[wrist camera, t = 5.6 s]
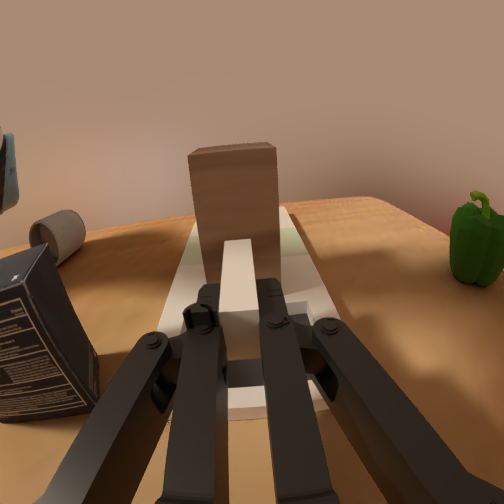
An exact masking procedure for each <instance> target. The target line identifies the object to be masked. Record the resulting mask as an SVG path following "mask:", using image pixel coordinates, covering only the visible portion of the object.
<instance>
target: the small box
mask: <svg viewBox="0 0 504 504" xmlns="http://www.w3.org/2000/svg"><path fill="white" fill-rule="evenodd" d="M98 368H99V366H98V355H97V353H96V352H95V350H94V348H93V346H92V344H91V343H90V341H89V339H88V337H87V335H86V333H85V331H84V329H83V327H82V325H81V323H80V321H79V319H78V317H77V315H76V313H75V311H74V309H73V306H72V304H71V302H70V300H69V298H68V295H67V293H66V290H65V288H64V286H63V283H62V281H61V278H60V275H59V273H58V270H57V268H56V265H55V262H54V260H53V257H52V254H51V251H50V247H49V244H48V243H45V244H42V245H39V246H36V247H33V248H30V249H27V250H24V251H21V252H19V253H16V254H13V255H10V256H8V257H5V258H2V259H0V422H19V421H30V420H40V419H48V418H56V417H63V416H69V415H76V414H81V413H87V412H92V410H93V409H94V407H95V406H96V404H97V402H98V401H99V399H100V398H99V388H98Z"/></svg>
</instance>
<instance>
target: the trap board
mask: <svg viewBox="0 0 504 504" xmlns="http://www.w3.org/2000/svg"><path fill="white" fill-rule="evenodd" d="M279 220H280V249H281V287H282V291H283V295H284V298H285V302H286V306H287V310H288V314H289V316H290V317H291V319H292V320H293V321H295V322H296V323H299V324H303V325H310V326H313V324H314V323H315V322H316V321H317V320H319V319H321V318H325V317H333V318H337V319H339V320H341V319H340V316H339V314H338V312H337V310H336V308H335V306H334V304H333V302H332V300H331V297H330V295H329V293H328V291H327V289H326V287H325V285H324V283H323V281H322V279H321V277H320V275H319V273H318V271H317V269H316V267H315V265H314V263H313V261H312V259H311V257H310V255H309V253H308V251H307V249H306V247H305V245H304V243H303V241H302V239H301V237H300V236H299V234H298V232H297V230H296V228H295V226H294V224H293V222H292V220H291V218H290V217H289V215H288V213H287V211H286V209H285V207H284V206H283V207H279ZM204 284H207V283H206V277H205V271H204V266H203V260H202V254H201V248H200V242H199V235H198V229H197V222H196V221H195V224H194V226H193V229H192V232H191V234H190V237H189V239H188V242H187V245H186V247H185V250H184V253H183V255H182V258H181V261H180V264H179V266H178V269H177V272H176V275H175V277H174V280H173V283H172V286H171V289H170V292H169V295H168V298H167V301H166V304H165V307H164V310H163V313H162V316H161V319H160V322H159V325H158V328H157V331H156V332H162V333H165V334H166V335H167V336H168V338H170V337H174V336H178V335H180V334H183V333H184V332H186V330H187V328H186V325H185V321H184V318H183V314H182V313H183V311H184V309H185V308H186V307H188V306H189V305H191V304H193V303H196V302H197V298H198V291H199V289H200V288H201V287H202V286H203V285H204ZM227 367H228V421H232V420H250V419H263V418H267V409H266V399H265V389H264V379H263V370H262V358H255V359H243V360H228V359H227ZM306 376H307V380H308V384H309V389H310V393H311V397H312V401H313V405H314V410H315V412H317V411H323V410H328V409H329V407H328V406H327V404H326V402H325V401H324V399H323V397H322V396H321V394H320V392H319V391H318V389H317V388H316V386H315V384H314V383H313V381H312V379H311V378H310V376H309V374H307V373H306ZM172 412H173V410H172ZM172 412H171V414H170V417H169V419H168V420H171V419H172Z"/></svg>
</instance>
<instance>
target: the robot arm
mask: <svg viewBox="0 0 504 504" xmlns="http://www.w3.org/2000/svg"><path fill="white" fill-rule="evenodd" d="M18 200H19V189H18V180H17V172H16V160H15V145H14V135H13V134H12V133H5V134H4V135H3V133H2V129H1V127H0V215H1V214H3V212H4V211H6V210H8V209H10V208H12V207H14V206H15V205H16V204H17V203H18ZM182 314H183V318H184V321H185V325H186V328H187V330H186V332H184V333H183V334H180V335H178V336H174V337H170V338H168V336H167V335H166V334H165V333H162V332H155V331H153V332H150V333H147V334H145V335H143V336H142V337H141V338H140V339H139V340H138V341H137V343H136V344H135V346H134V347H133V349H132V350H131V352H130V353H129V355H128V356H127V358H126V359H125V361H124V362H123V364H122V365H121V367H120V368H119V370H118V371H117V373H116V374H115V376H114V377H113V379H112V381H111V382H110V384H109V385H108V387H107V388H106V390H105V391H104V393H103V395H102V396H101V398H100V399H99V401H98V402H97V404H96V406H95V407H94V409H93V410H92V412H91V414H90V415H89V417H88V418H87V420H86V422H85V423H84V425H83V427H82V428H81V430H80V432H79V433H78V435H77V437H76V438H75V440H74V442H73V443H72V445H71V447H70V448H69V450H68V452H67V454H66V455H65V457H64V459H63V461H62V462H61V464H60V466H59V468H58V469H57V471H56V473H55V475H54V477H53V478H52V480H51V482H50V484H49V486H48V488H47V489H46V491H45V493H44V495H43V496H41V497H40V498H39V499H38V500H36V501H35V502H34V503H33V504H131V502H132V500H133V498H134V495H135V493H136V491H137V489H138V486H139V484H140V482H141V480H142V477H143V475H144V473H145V470H146V468H147V466H148V464H149V461H150V459H151V457H152V455H153V452H154V450H155V448H156V446H157V443H158V441H159V439H160V437H161V434H162V432H163V430H164V428H165V426H166V423H167V421H168V419H169V417H170V414H171V412H172V410H173V412H172V419H171V426H170V433H169V441H168V449H167V457H166V465H165V474H164V484H163V492H162V495H161V497H160V498H159V499H158V500H157V501H156V502H155V504H229V471H228V367H227V359H228V360H243V359H255V358H262V370H263V379H264V389H265V399H266V409H267V419H268V429H269V439H270V448H271V458H272V468H273V478H274V488H275V497H276V504H340V502H339V498H338V496H337V494H336V493H335V491H334V490H333V489H332V486H331V482H330V477H329V472H328V468H327V463H326V459H325V454H324V449H323V445H322V440H321V436H320V432H319V427H318V423H317V418H316V414H315V410H314V405H313V401H312V397H311V393H310V389H309V384H308V380H307V376H306V373H307V374H309V376H310V378H311V379H312V381H313V383H314V384H315V386H316V388H317V389H318V391H319V392H320V394H321V396H322V397H323V399H324V401H325V402H326V404H327V406H328V407H329V409H330V411H331V412H332V414H333V415H334V417H335V419H336V420H337V422H338V424H339V425H340V427H341V429H342V430H343V432H344V433H345V435H346V437H347V438H348V440H349V441H350V443H351V445H352V446H353V448H354V450H355V451H356V453H357V454H358V456H359V458H360V459H361V461H362V462H363V464H364V466H365V467H366V469H367V470H368V472H369V473H370V475H371V477H372V478H373V480H374V481H375V483H376V485H377V486H378V488H379V489H380V491H381V492H382V494H383V496H384V497H385V499H386V500H387V502H388V503H389V504H504V490H502V489H500V488H498V487H496V486H494V485H492V484H490V483H488V482H486V481H484V480H482V479H480V478H478V477H476V476H474V475H472V474H471V473H469V472H467V471H466V469H465V468H464V467H463V466H462V464H461V463H460V462H459V460H458V459H457V458H456V457H455V455H454V454H453V453H452V451H451V450H450V449H449V448H448V446H447V445H446V444H445V443H444V441H443V440H442V439H441V438H440V436H439V435H438V434H437V433H436V431H435V430H434V429H433V428H432V426H431V425H430V424H429V423H428V422H427V420H426V419H425V418H424V417H423V415H422V414H421V413H420V412H419V411H418V409H417V408H416V407H415V406H414V404H413V403H412V402H411V401H410V400H409V398H408V397H407V396H406V395H405V394H404V392H403V391H402V390H401V389H400V388H399V386H398V385H397V384H396V383H395V382H394V380H393V379H392V378H391V377H390V376H389V375H388V373H387V372H386V371H385V370H384V369H383V367H382V366H381V365H380V364H379V363H378V362H377V360H376V359H375V358H374V357H373V356H372V355H371V353H370V352H369V351H368V350H367V349H366V348H365V346H364V345H363V344H362V343H361V342H360V341H359V339H358V338H357V337H356V336H355V335H354V334H353V332H352V331H351V330H350V329H349V328H348V327H347V326H346V324H345V323H344V322H342V321H341V320H339V319H337V318H333V317H325V318H321V319H319V320H317V321H316V322H315V323H314V324H313V326H310V325H303V324H299V323H296V322H295V321H293V320H292V319H291V317H290V316H289V314H288V310H287V306H286V302H285V298H284V295H283V291H282V287H281V283H280V282H279V281H278V280H277V279H276V278H265V279H255V273H254V265H253V256H252V247H251V239H242V240H230V241H225V242H224V253H223V264H222V276H221V283H214V284H204V285H203V286H202V287H201V288H200V289H199V291H198V298H197V302H196V303H193V304H191V305H189V306H188V307H186V308H185V309H184V311H183V313H182Z"/></svg>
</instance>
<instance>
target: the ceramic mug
mask: <svg viewBox="0 0 504 504" xmlns="http://www.w3.org/2000/svg"><path fill="white" fill-rule="evenodd" d="M85 235H86V231H85V226H84V223H83V221H82V219H81V217H80V216H79V215H78V214H77V213H76V212H74V211H72V210H62V211H59V212H56V213H54V214H52V215H50V216H47V217H45V218H43V219H41V220H38V221H36V222H35V223H33V225H32V226H31V228H30V232H29V243H30V247H31V248H33V247H36V246H39V245H42V244H45V243H48V244H49V247H50V251H51V254H52V257H53V260H54V262H55V265H56V267H57V266H58V265H59V264H60V263H62V262H63V261H64V260H65V259H67V258H68V257H69V256H70V255H71V254H72V253H74V252H75V251H76V250H77V249H79V247H80V246H81V245H82V244H83V242H84V240H85Z"/></svg>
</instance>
